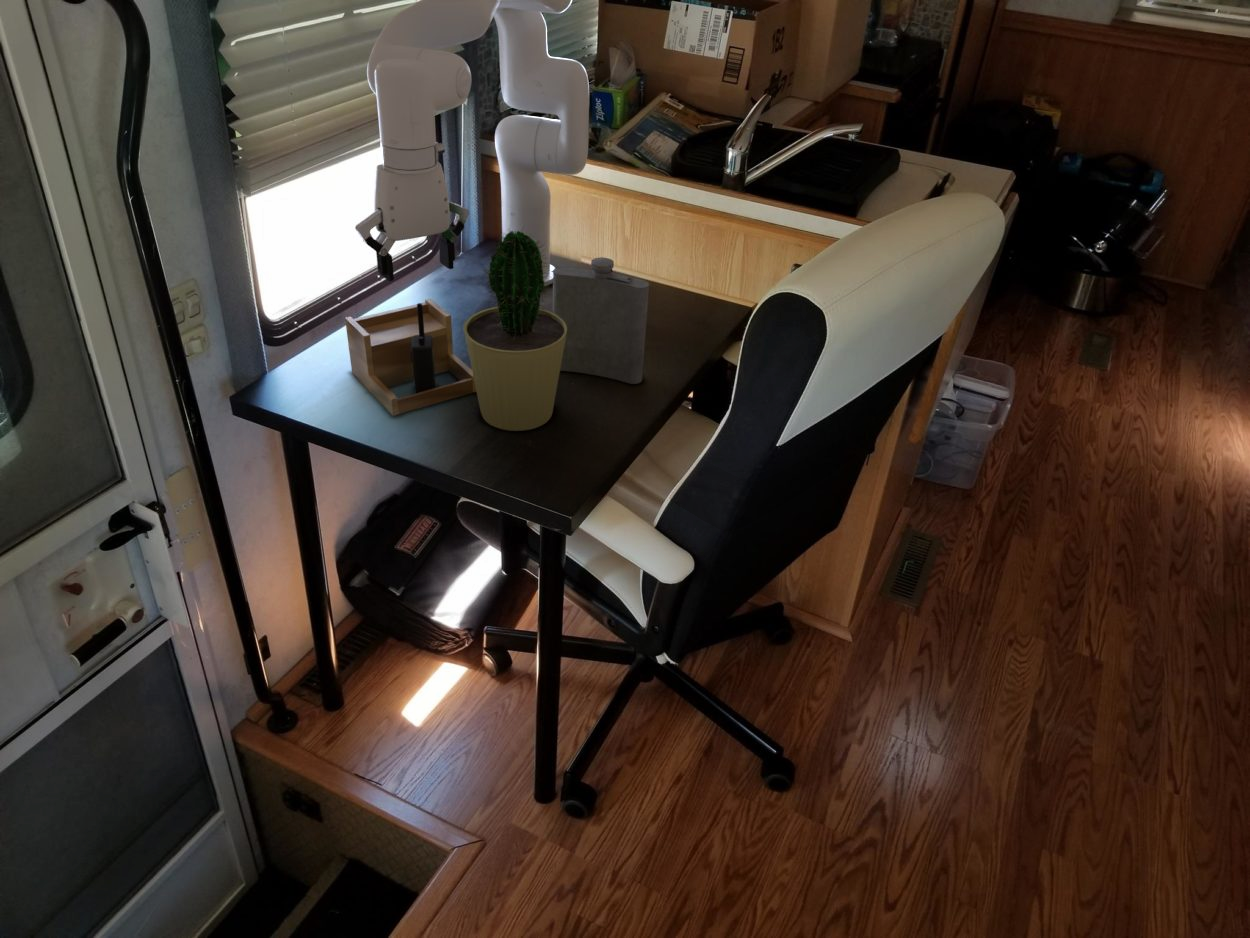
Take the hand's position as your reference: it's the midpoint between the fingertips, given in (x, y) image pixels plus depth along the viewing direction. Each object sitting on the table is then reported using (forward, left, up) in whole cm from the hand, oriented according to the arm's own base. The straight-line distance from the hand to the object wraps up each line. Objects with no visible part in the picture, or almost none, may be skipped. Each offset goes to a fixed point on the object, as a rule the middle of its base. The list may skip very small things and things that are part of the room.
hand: (417, 271), depth 139 cm
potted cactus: (+13, +9, -21) cm, 26 cm away
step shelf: (-4, 0, -21) cm, 21 cm away
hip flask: (+9, +28, -21) cm, 36 cm away
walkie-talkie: (0, 0, -21) cm, 21 cm away
